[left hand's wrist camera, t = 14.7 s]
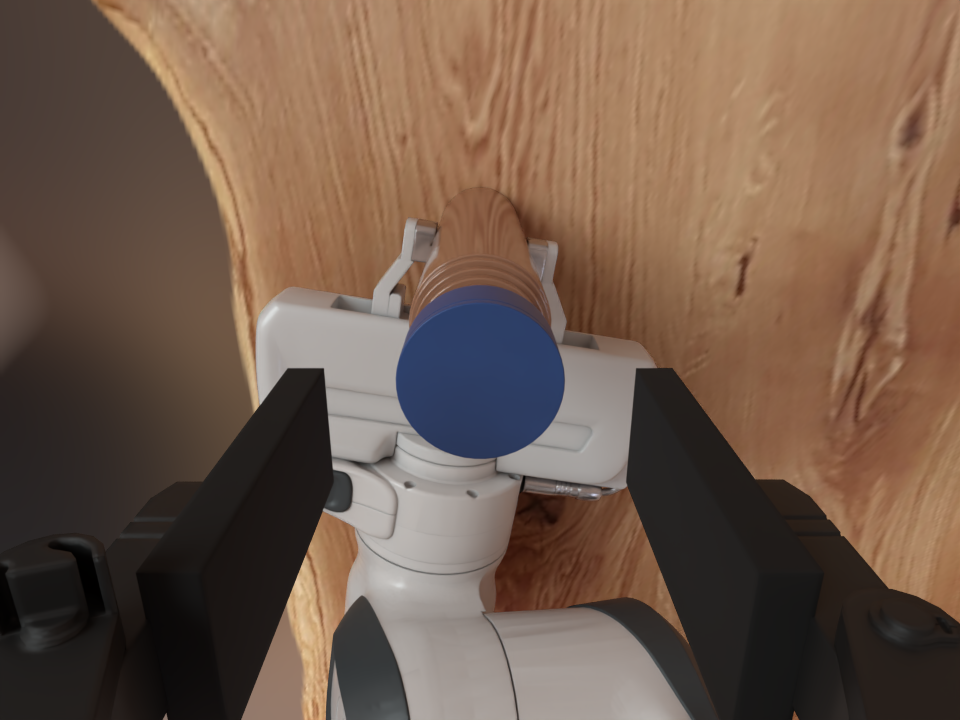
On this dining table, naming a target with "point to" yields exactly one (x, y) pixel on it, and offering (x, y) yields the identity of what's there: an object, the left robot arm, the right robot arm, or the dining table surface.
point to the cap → (480, 373)
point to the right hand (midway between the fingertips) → (482, 230)
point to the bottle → (479, 252)
